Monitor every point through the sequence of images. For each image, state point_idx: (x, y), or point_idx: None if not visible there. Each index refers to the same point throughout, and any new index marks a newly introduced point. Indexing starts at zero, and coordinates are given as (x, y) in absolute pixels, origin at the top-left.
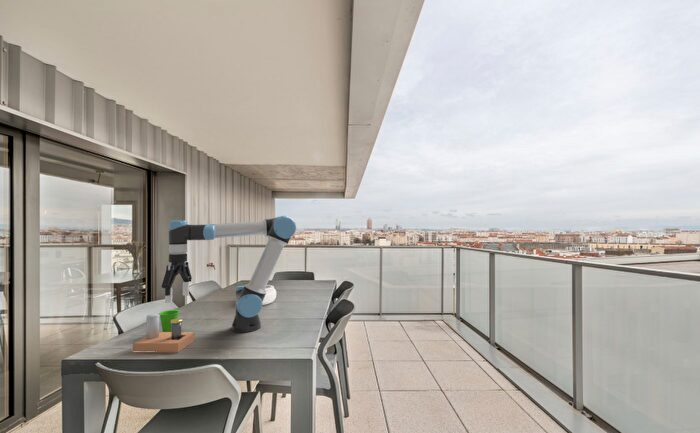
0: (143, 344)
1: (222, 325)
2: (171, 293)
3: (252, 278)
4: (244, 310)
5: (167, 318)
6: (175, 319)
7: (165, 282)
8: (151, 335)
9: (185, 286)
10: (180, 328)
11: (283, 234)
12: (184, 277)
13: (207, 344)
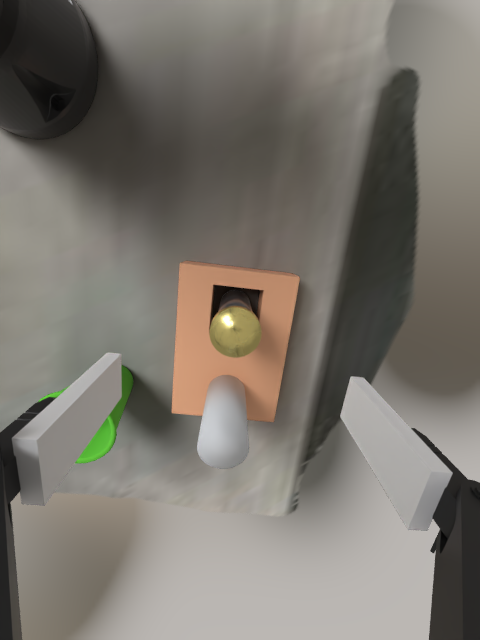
0: (278, 390)
1: (4, 204)
2: (407, 425)
3: None
4: None
5: (115, 410)
6: (227, 342)
7: None
8: (244, 393)
9: (76, 429)
10: (239, 303)
11: None
12: (13, 564)
13: (231, 193)
